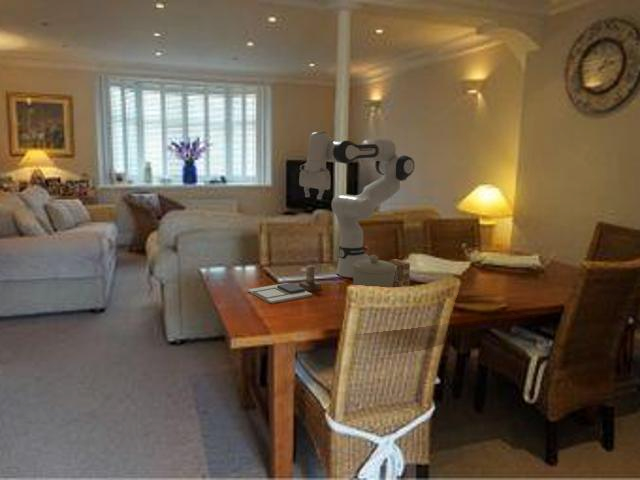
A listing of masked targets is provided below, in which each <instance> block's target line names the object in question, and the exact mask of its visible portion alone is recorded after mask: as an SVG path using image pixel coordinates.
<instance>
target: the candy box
mask: <svg viewBox="0 0 640 480" xmlns="http://www.w3.org/2000/svg"><path fill="white" fill-rule="evenodd" d="M389 262H390V263H392V264H393V265H395V266H396V267H397V270H396V271H395V275H394V281H393V287H402V286H409V287H410V272H411V267H410V266H411V262H408V261H405V260H402V259H398V258H395V259H394V258H393V259H390V260H389Z"/></svg>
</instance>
